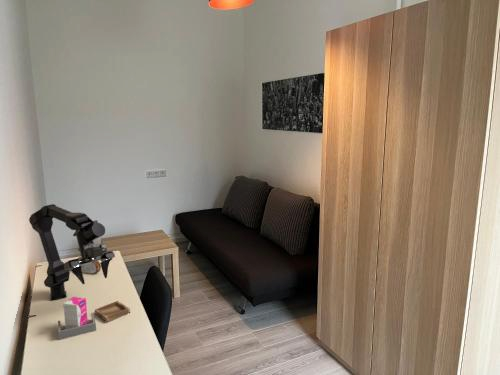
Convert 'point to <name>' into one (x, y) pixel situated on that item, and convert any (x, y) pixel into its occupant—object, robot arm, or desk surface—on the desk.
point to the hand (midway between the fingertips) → (95, 280)
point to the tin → (90, 267)
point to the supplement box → (75, 312)
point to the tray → (112, 311)
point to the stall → (76, 329)
